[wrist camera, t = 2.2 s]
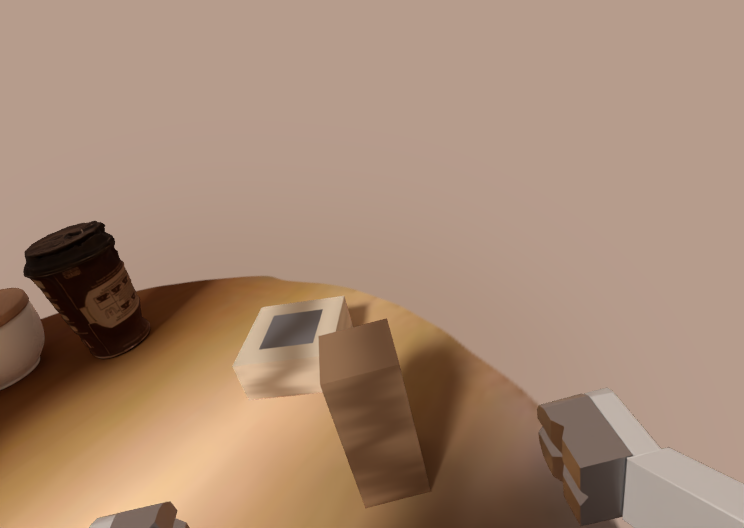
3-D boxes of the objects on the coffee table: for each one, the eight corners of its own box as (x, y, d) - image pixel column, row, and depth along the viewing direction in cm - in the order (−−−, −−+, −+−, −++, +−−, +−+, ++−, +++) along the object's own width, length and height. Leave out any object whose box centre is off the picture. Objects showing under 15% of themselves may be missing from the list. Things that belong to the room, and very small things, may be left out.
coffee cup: (176, 312, 53) (124, 211, 47) (140, 360, 46) (73, 248, 40) (111, 322, 54) (51, 226, 48) (66, 371, 47) (-11, 264, 41)
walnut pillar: (365, 508, 27) (320, 384, 22) (358, 452, 30) (318, 336, 26) (430, 491, 27) (399, 364, 22) (416, 437, 30) (386, 318, 26)
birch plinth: (249, 402, 37) (232, 366, 35) (275, 340, 44) (261, 307, 42) (342, 393, 36) (329, 354, 34) (354, 330, 43) (344, 295, 41)
